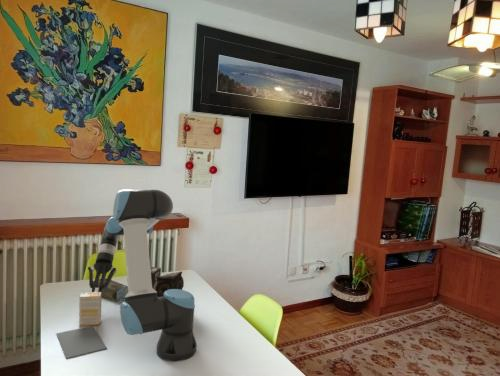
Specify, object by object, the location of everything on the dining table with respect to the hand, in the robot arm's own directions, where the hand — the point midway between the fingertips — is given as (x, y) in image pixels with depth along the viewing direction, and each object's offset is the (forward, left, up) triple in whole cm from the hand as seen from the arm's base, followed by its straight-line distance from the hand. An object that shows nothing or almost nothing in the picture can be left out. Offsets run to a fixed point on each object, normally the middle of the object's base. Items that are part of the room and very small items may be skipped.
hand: (94, 302), depth 166 cm
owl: (-10, -30, -7) cm, 33 cm away
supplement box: (-5, +3, -7) cm, 9 cm away
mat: (-19, +9, -7) cm, 22 cm away
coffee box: (+6, -28, -7) cm, 30 cm away
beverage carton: (+21, -13, -7) cm, 26 cm away
